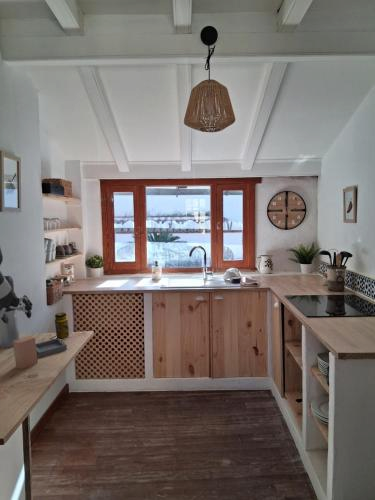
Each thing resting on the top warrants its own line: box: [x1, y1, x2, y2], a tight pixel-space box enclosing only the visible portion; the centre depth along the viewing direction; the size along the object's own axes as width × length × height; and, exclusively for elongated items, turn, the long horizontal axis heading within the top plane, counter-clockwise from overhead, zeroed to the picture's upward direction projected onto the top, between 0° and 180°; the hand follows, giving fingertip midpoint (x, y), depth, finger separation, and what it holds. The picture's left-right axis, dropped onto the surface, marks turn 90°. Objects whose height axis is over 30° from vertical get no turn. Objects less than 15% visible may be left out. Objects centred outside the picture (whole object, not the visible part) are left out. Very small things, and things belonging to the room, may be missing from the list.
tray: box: [36, 338, 68, 358], centre depth 168 cm, size 12×12×2 cm
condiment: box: [50, 312, 73, 340], centre depth 183 cm, size 7×8×12 cm
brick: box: [13, 335, 39, 370], centre depth 153 cm, size 4×7×11 cm, turn 141°
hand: (18, 319), depth 143 cm, fingers open, 8 cm apart
